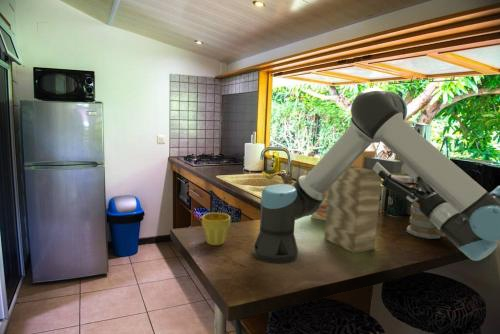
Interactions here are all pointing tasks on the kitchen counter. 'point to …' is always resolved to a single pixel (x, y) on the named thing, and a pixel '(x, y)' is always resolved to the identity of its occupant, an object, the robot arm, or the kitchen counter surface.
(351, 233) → the zigzag striped pillar
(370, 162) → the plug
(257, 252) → the robot arm
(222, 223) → the plant pot
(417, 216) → the tankard
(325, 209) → the coffeecake box
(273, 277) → the kitchen counter surface
